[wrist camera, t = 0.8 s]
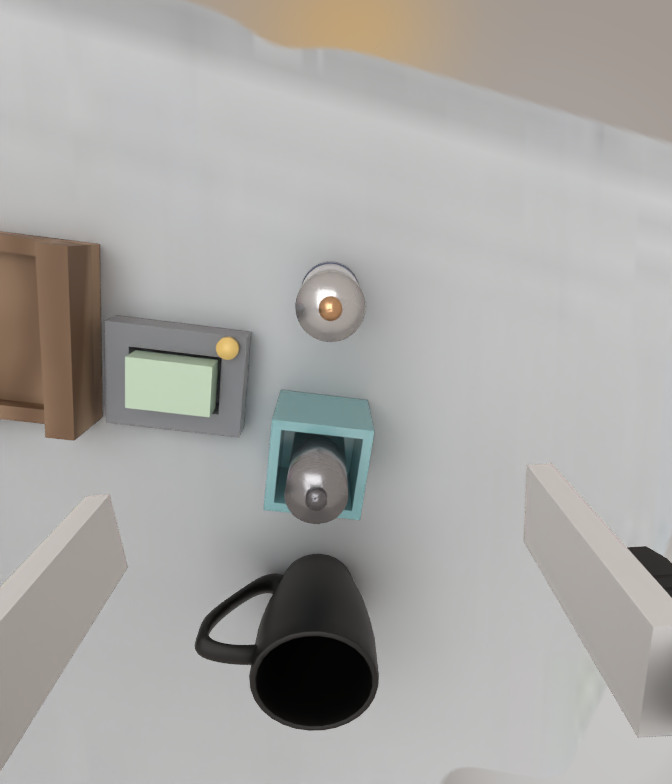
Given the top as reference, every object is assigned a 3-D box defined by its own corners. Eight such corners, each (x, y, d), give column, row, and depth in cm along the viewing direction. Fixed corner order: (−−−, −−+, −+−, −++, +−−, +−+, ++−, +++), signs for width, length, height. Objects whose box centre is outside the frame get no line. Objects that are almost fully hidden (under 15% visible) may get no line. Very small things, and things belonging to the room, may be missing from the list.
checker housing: (117, 412, 36) (102, 425, 34) (117, 315, 34) (100, 322, 31) (243, 426, 37) (237, 440, 34) (251, 331, 34) (245, 339, 32)
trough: (-24, 402, 36) (-69, 425, 32) (-41, 226, 32) (-94, 225, 28) (102, 417, 36) (74, 440, 32) (99, 244, 33) (67, 246, 29)
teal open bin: (273, 468, 38) (263, 509, 32) (280, 389, 36) (272, 419, 30) (355, 477, 38) (360, 519, 32) (367, 399, 36) (374, 431, 30)
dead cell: (291, 459, 36) (280, 526, 28) (296, 413, 35) (286, 468, 27) (340, 464, 37) (344, 532, 29) (347, 418, 36) (352, 475, 27)
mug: (236, 513, 39) (207, 601, 30) (382, 554, 40) (398, 650, 31) (210, 597, 41) (176, 701, 32) (349, 633, 42) (354, 743, 33)
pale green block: (135, 398, 34) (125, 407, 32) (135, 350, 33) (125, 356, 31) (215, 407, 34) (209, 417, 33) (218, 359, 33) (212, 367, 32)
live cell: (299, 313, 34) (290, 340, 26) (305, 257, 33) (297, 267, 25) (353, 320, 34) (361, 349, 26) (361, 264, 33) (372, 276, 25)
